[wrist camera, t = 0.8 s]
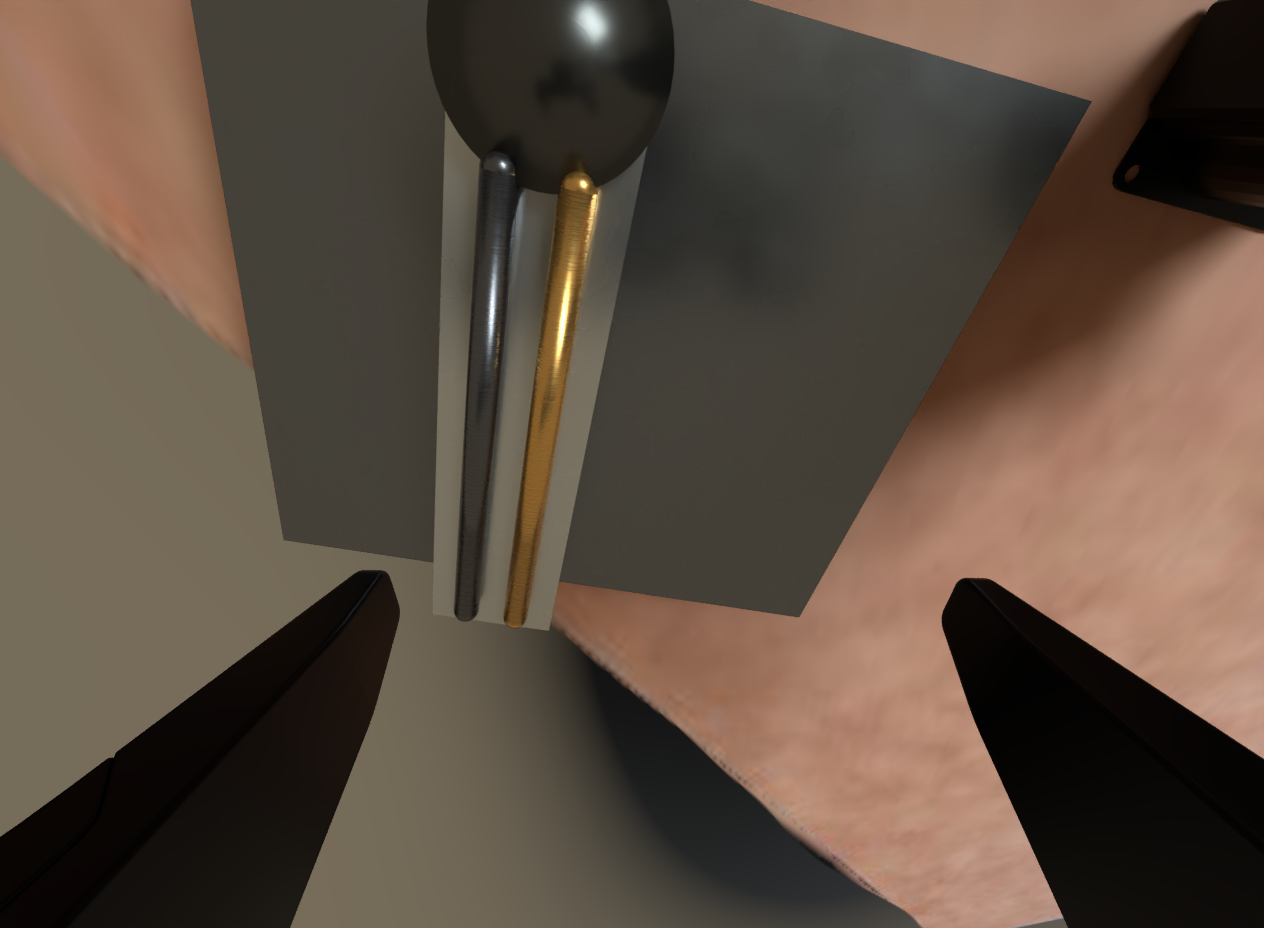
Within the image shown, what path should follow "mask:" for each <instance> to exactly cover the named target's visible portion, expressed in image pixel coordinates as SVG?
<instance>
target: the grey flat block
mask: <svg viewBox="0 0 1264 928" xmlns="http://www.w3.org/2000/svg"><path fill="white" fill-rule="evenodd" d="M667 1H668V4H669V8H670V12H671V18H672V25H673V31H674V48H675V56H674V73H673V79H672V86H671V91H670V95H669V99H668V103H667V106H666V109H665V112H664V115H663V117H662V120H661V122H660V125H659V127H658V129H657V130H656V132H655V134H654V136H653V138H652V140H651V141H650V143H649V144H648V146H647V149H646V154H645V159H644V163H643V168H642V173H641V178H640V183H639V188H638V193H637V198H636V203H635V208H634V213H633V218H632V223H631V228H630V233H629V238H628V242H627V247H626V252H625V257H624V262H623V267H622V272H621V277H620V282H619V287H618V292H617V297H616V302H615V307H614V312H613V317H612V322H611V326H610V331H609V336H608V341H607V346H606V351H605V356H604V361H603V366H602V371H601V376H600V381H599V386H598V391H597V396H596V401H595V405H594V410H593V415H592V420H591V425H590V430H589V435H588V440H587V445H586V450H585V455H584V460H583V465H582V470H581V475H580V480H579V484H578V489H577V494H576V499H575V504H574V509H573V514H572V519H571V524H570V529H569V534H568V539H567V544H566V549H565V554H564V559H563V564H562V568H561V573H560V578H559V581H561V582H567V583H574V584H581V585H587V586H594V587H601V588H607V589H614V590H621V591H627V592H634V593H640V594H647V595H654V596H660V597H667V598H674V599H680V600H687V601H694V602H700V603H707V604H714V605H720V606H727V607H734V608H740V609H747V610H754V611H760V612H767V613H774V614H780V615H787V616H794V617H800V615H801V613H802V611H803V610H804V608H805V606H806V604H807V602H808V601H809V599H810V597H811V595H812V594H813V592H814V590H815V588H816V587H817V585H818V583H819V581H820V580H821V578H822V576H823V574H824V572H825V571H826V569H827V567H828V565H829V564H830V562H831V560H832V558H833V557H834V555H835V553H836V551H837V550H838V548H839V546H840V544H841V543H842V541H843V539H844V537H845V535H846V534H847V532H848V530H849V528H850V527H851V525H852V523H853V521H854V520H855V518H856V516H857V514H858V513H859V511H860V509H861V507H862V505H863V504H864V502H865V500H866V498H867V497H868V495H869V493H870V491H871V490H872V488H873V486H874V484H875V483H876V481H877V479H878V477H879V476H880V474H881V472H882V470H883V468H884V467H885V465H886V463H887V461H888V460H889V458H890V456H891V454H892V453H893V451H894V449H895V447H896V446H897V444H898V442H899V440H900V438H901V437H902V435H903V433H904V431H905V430H906V428H907V426H908V424H909V423H910V421H911V419H912V417H913V416H914V414H915V412H916V410H917V409H918V407H919V405H920V403H921V401H922V400H923V398H924V396H925V394H926V393H927V391H928V389H929V387H930V386H931V384H932V382H933V380H934V379H935V377H936V375H937V373H938V371H939V370H940V368H941V366H942V364H943V363H944V361H945V359H946V357H947V356H948V354H949V352H950V350H951V349H952V347H953V345H954V343H955V342H956V340H957V338H958V336H959V334H960V333H961V331H962V329H963V327H964V326H965V324H966V322H967V320H968V319H969V317H970V315H971V313H972V312H973V310H974V308H975V306H976V304H977V303H978V301H979V299H980V297H981V296H982V294H983V292H984V290H985V289H986V287H987V285H988V283H989V282H990V280H991V278H992V276H993V275H994V273H995V271H996V269H997V267H998V266H999V264H1000V262H1001V260H1002V259H1003V257H1004V255H1005V253H1006V252H1007V250H1008V248H1009V246H1010V245H1011V243H1012V241H1013V239H1014V237H1015V236H1016V234H1017V232H1018V230H1019V229H1020V227H1021V225H1022V223H1023V222H1024V220H1025V218H1026V216H1027V215H1028V213H1029V211H1030V209H1031V208H1032V206H1033V204H1034V202H1035V200H1036V199H1037V197H1038V195H1039V193H1040V192H1041V190H1042V188H1043V186H1044V185H1045V183H1046V181H1047V179H1048V178H1049V176H1050V174H1051V172H1052V170H1053V169H1054V167H1055V165H1056V163H1057V162H1058V160H1059V158H1060V156H1061V155H1062V153H1063V151H1064V149H1065V148H1066V146H1067V144H1068V142H1069V141H1070V139H1071V137H1072V135H1073V133H1074V132H1075V130H1076V128H1077V126H1078V125H1079V123H1080V121H1081V119H1082V118H1083V116H1084V114H1085V112H1086V111H1087V109H1088V107H1089V105H1090V103H1091V102H1092V101H1089V100H1085V99H1082V98H1078V97H1075V96H1072V95H1068V94H1065V93H1061V92H1058V91H1055V90H1051V89H1048V88H1044V87H1041V86H1038V85H1034V84H1031V83H1027V82H1024V81H1021V80H1017V79H1014V78H1011V77H1007V76H1004V75H1000V74H997V73H994V72H990V71H987V70H983V69H980V68H977V67H973V66H970V65H966V64H963V63H960V62H956V61H953V60H949V59H946V58H943V57H939V56H936V55H932V54H929V53H926V52H922V51H919V50H915V49H912V48H909V47H905V46H902V45H898V44H895V43H892V42H888V41H885V40H882V39H878V38H875V37H871V36H868V35H865V34H861V33H858V32H854V31H851V30H848V29H844V28H841V27H837V26H834V25H831V24H827V23H824V22H820V21H817V20H814V19H810V18H807V17H803V16H800V15H797V14H793V13H790V12H786V11H783V10H780V9H776V8H773V7H769V6H766V5H763V4H759V3H756V2H753V1H749V0H667ZM191 5H192V11H193V17H194V23H195V28H196V34H197V40H198V46H199V52H200V57H201V63H202V69H203V75H204V81H205V86H206V92H207V98H208V104H209V110H210V115H211V121H212V127H213V133H214V139H215V144H216V150H217V156H218V162H219V168H220V173H221V179H222V185H223V191H224V197H225V202H226V208H227V214H228V220H229V226H230V231H231V237H232V243H233V249H234V254H235V260H236V266H237V272H238V278H239V283H240V289H241V295H242V301H243V307H244V312H245V318H246V324H247V330H248V336H249V341H250V347H251V353H252V359H253V365H254V370H255V376H256V382H257V388H258V394H259V399H260V405H261V410H262V417H263V423H264V428H265V434H266V440H267V446H268V452H269V457H270V463H271V469H272V475H273V480H274V486H275V492H276V498H277V504H278V509H279V515H280V521H281V527H282V533H283V538H284V540H288V541H294V542H301V543H309V544H314V545H322V546H328V547H334V548H341V549H348V550H355V551H361V552H368V553H374V554H381V555H387V556H394V557H401V558H408V559H414V560H421V561H427V562H434V525H435V487H436V449H437V411H438V373H439V335H440V297H441V259H442V221H443V183H444V145H445V109H444V107H443V105H442V103H441V100H440V97H439V94H438V92H437V89H436V86H435V83H434V79H433V75H432V71H431V67H430V61H429V55H428V48H427V31H426V21H427V5H428V0H191Z"/></svg>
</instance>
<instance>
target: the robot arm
mask: <svg viewBox="0 0 1264 928" xmlns="http://www.w3.org/2000/svg"><path fill="white" fill-rule="evenodd" d="M1148 116H1149V118H1148V119H1147V121H1146V122H1145V124H1144V126H1143V127H1142V129H1141V130H1140V132H1139V134H1138V135H1137V137H1136V138H1135V140H1134V142H1133V143H1132V145H1131V147H1130V148H1129V150H1128V151H1127V153H1126V155H1125V156H1124V158H1123V159H1122V161H1121V163H1120V164H1119V166H1118V167H1117V169H1116V171H1115V173H1114V175H1113V181H1112V184H1113V186H1114V188H1115V189H1117V190H1118V191H1121V192H1125V193H1129V194H1132V195H1136V196H1140V197H1143V198H1147V199H1150V200H1154V201H1158V202H1161V203H1165V204H1169V205H1172V206H1176V207H1180V208H1183V209H1187V210H1191V211H1194V212H1198V213H1202V214H1205V215H1209V216H1213V217H1216V218H1220V219H1224V220H1227V221H1231V222H1235V223H1238V224H1242V225H1246V226H1249V227H1253V228H1257V229H1260V230H1264V0H1218V1H1217V2H1215V3H1214V4H1213V5H1212V6H1211V7H1210V8H1209V10H1208V11H1207V13H1206V15H1205V16H1204V18H1203V19H1202V21H1201V23H1200V24H1199V26H1198V28H1197V29H1196V31H1195V32H1194V34H1193V36H1192V37H1191V39H1190V41H1189V42H1188V44H1187V45H1186V47H1185V49H1184V50H1183V52H1182V53H1181V55H1180V57H1179V58H1178V60H1177V62H1176V63H1175V65H1174V66H1173V68H1172V70H1171V71H1170V73H1169V75H1168V76H1167V78H1166V79H1165V81H1164V83H1163V84H1162V86H1161V87H1160V89H1159V91H1158V92H1157V94H1156V96H1155V97H1154V99H1153V100H1152V102H1151V104H1150V106H1149V110H1148ZM1134 165H1137V166H1138V167H1139V172H1138V174H1137V176H1136V177H1135V178H1134V179H1133V180H1132V181H1130V182H1126V181H1125V174H1126V172H1127V171H1128V170H1129V169H1130V168H1131V167H1132V166H1134ZM399 616H400V608H399V604H398V600H397V597H396V594H395V591H394V588H393V585H392V582H391V579H390V576H389V574H387V572H385V571H381V570H362V571H358V572H357V573H355V574H353V575H352V576H351V577H349V578H348V579H347V580H345V581H344V582H343V583H341V584H340V585H339V586H338V587H336V588H335V589H333V590H332V591H331V592H329V593H328V594H327V595H326V596H324V597H323V598H321V599H320V600H319V601H317V602H316V603H315V604H314V605H312V606H311V607H309V608H308V609H307V610H305V611H304V612H303V613H301V614H300V615H299V616H297V617H296V618H295V619H293V620H292V621H291V622H289V623H288V624H287V625H285V626H284V627H283V628H281V629H280V630H279V631H278V632H276V633H275V634H273V635H272V636H271V637H269V638H268V639H267V640H265V641H264V642H263V643H261V644H260V645H259V646H257V647H256V648H255V649H253V650H252V651H251V652H249V653H248V654H247V655H245V656H244V657H243V658H241V659H240V660H239V661H237V662H236V663H235V664H233V665H232V666H231V667H229V668H228V669H227V670H225V671H224V672H223V673H221V674H220V675H219V676H217V677H216V678H215V679H214V680H212V681H211V682H209V683H208V684H207V685H205V686H204V687H203V688H201V689H200V690H199V691H197V692H196V693H195V694H193V695H192V696H191V697H189V698H188V699H187V700H185V701H184V702H183V703H181V704H180V705H179V706H178V707H176V708H175V709H173V710H172V711H171V712H169V713H168V714H167V715H165V716H164V717H163V718H161V719H160V720H159V721H157V722H156V723H155V724H153V725H152V726H151V727H149V728H148V729H147V730H145V731H144V732H143V733H141V734H140V735H139V736H137V737H136V738H135V739H133V740H132V741H131V742H129V743H128V744H127V745H125V746H124V747H123V748H121V749H120V750H119V751H117V752H116V754H115V756H114V758H108V759H106V760H105V761H104V762H102V763H101V764H100V765H98V766H97V767H96V768H94V769H93V770H92V771H90V772H89V773H88V774H86V775H85V776H84V777H82V778H81V779H80V780H79V781H77V782H76V783H74V784H73V785H72V786H70V787H69V788H67V789H66V790H65V791H63V792H62V793H61V794H59V795H58V796H56V797H55V798H54V799H52V800H51V801H50V802H48V803H47V804H45V805H44V806H43V807H41V808H40V809H39V810H37V811H36V812H35V813H33V814H32V815H31V816H29V817H28V818H26V819H25V820H24V821H22V822H21V823H19V824H18V825H17V826H15V827H14V828H12V829H11V830H9V831H8V832H6V833H5V834H4V835H2V836H1V837H0V928H290V926H291V924H292V921H293V919H294V916H295V914H296V911H297V908H298V905H299V903H300V901H301V898H302V896H303V893H304V890H305V888H306V886H307V883H308V880H309V878H310V875H311V873H312V870H313V868H314V865H315V863H316V860H317V857H318V855H319V852H320V850H321V847H322V844H323V842H324V840H325V837H326V834H327V832H328V829H329V826H330V824H331V822H332V819H333V816H334V814H335V811H336V809H337V806H338V804H339V801H340V799H341V796H342V793H343V791H344V788H345V786H346V783H347V781H348V778H349V776H350V773H351V770H352V768H353V765H354V763H355V760H356V758H357V755H358V753H359V750H360V747H361V745H362V742H363V740H364V737H365V735H366V732H367V730H368V727H369V724H370V721H371V718H372V716H373V713H374V710H375V706H376V703H377V700H378V696H379V692H380V689H381V685H382V681H383V678H384V674H385V670H386V667H387V663H388V659H389V656H390V652H391V648H392V644H393V640H394V637H395V633H396V630H397V626H398V622H399ZM942 627H943V631H944V634H945V637H946V640H947V643H948V646H949V649H950V651H951V654H952V657H953V660H954V663H955V666H956V669H957V672H958V675H959V678H960V681H961V684H962V687H963V690H964V693H965V696H966V699H967V702H968V705H969V708H970V710H971V713H972V716H973V718H974V721H975V723H976V726H977V728H978V730H979V733H980V735H981V737H982V739H983V742H984V744H985V746H986V748H987V750H988V753H989V755H990V757H991V759H992V761H993V764H994V766H995V768H996V770H997V772H998V775H999V777H1000V779H1001V781H1002V783H1003V786H1004V788H1005V790H1006V792H1007V794H1008V797H1009V799H1010V801H1011V803H1012V805H1013V808H1014V810H1015V812H1016V814H1017V816H1018V819H1019V821H1020V823H1021V825H1022V827H1023V830H1024V832H1025V834H1026V836H1027V838H1028V841H1029V843H1030V845H1031V847H1032V849H1033V852H1034V854H1035V856H1036V858H1037V860H1038V863H1039V865H1040V867H1041V869H1042V871H1043V874H1044V876H1045V878H1046V880H1047V882H1048V885H1049V887H1050V889H1051V891H1052V893H1053V896H1054V898H1055V900H1056V902H1057V904H1058V907H1059V909H1060V911H1061V913H1062V915H1063V918H1064V920H1065V922H1066V924H1067V926H1068V928H1264V759H1263V758H1262V757H1260V756H1258V755H1257V754H1255V753H1254V752H1252V751H1251V750H1249V749H1248V748H1246V747H1245V746H1243V745H1242V744H1240V743H1239V742H1237V741H1236V740H1234V739H1233V738H1231V737H1230V736H1228V735H1227V734H1225V733H1224V732H1222V731H1221V730H1219V729H1217V728H1216V727H1214V726H1213V725H1211V724H1210V723H1208V722H1207V721H1205V720H1204V719H1202V718H1201V717H1199V716H1198V715H1196V714H1195V713H1193V712H1192V711H1190V710H1189V709H1187V708H1186V707H1184V706H1183V705H1181V704H1179V703H1178V702H1176V701H1175V700H1173V699H1172V698H1170V697H1169V696H1167V695H1166V694H1164V693H1163V692H1161V691H1160V690H1158V689H1157V688H1155V687H1154V686H1152V685H1151V684H1149V683H1148V682H1146V681H1145V680H1143V679H1141V678H1140V677H1138V676H1137V675H1135V674H1134V673H1132V672H1131V671H1129V670H1128V669H1126V668H1125V667H1123V666H1122V665H1120V664H1119V663H1117V662H1116V661H1114V660H1113V659H1111V658H1110V657H1108V656H1107V655H1105V654H1104V653H1102V652H1100V651H1099V650H1097V649H1096V648H1094V647H1093V646H1091V645H1090V644H1088V643H1087V642H1085V641H1084V640H1082V639H1081V638H1079V637H1078V636H1076V635H1075V634H1073V633H1072V632H1070V631H1069V630H1067V629H1066V628H1064V627H1062V626H1061V625H1059V624H1058V623H1056V622H1055V621H1053V620H1052V619H1050V618H1049V617H1047V616H1046V615H1044V614H1043V613H1041V612H1040V611H1038V610H1037V609H1035V608H1034V607H1032V606H1031V605H1029V604H1028V603H1026V602H1025V601H1023V600H1021V599H1020V598H1018V597H1017V596H1015V595H1014V594H1012V593H1011V592H1009V591H1008V590H1006V589H1005V588H1003V587H1002V586H1000V585H999V584H997V583H996V582H994V581H992V580H990V579H986V578H963V579H961V580H959V581H958V582H957V584H956V585H955V587H954V589H953V592H952V594H951V596H950V598H949V600H948V602H947V604H946V606H945V608H944V610H943V613H942Z"/></svg>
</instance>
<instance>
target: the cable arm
mask: <svg viewBox="0 0 1264 928" xmlns="http://www.w3.org/2000/svg"><path fill="white" fill-rule="evenodd" d="M426 31H427V48H428V55H429V61H430V67H431V71H432V75H433V79H434V83H435V86H436V89H437V92H438V94H439V97H440V100H441V103H442V105H443V107H444V109H445V145H444V183H443V221H442V259H441V297H440V335H439V373H438V411H437V449H436V487H435V525H434V563H433V566H434V567H433V601H432V602H433V603H432V604H433V605H432V615H439V616H446V617H453V618H457V619H459V620H460V621H470V620H475V621H482V622H490V623H497V624H504V625H507V626H508V627H511V628H519V627H526V628H533V629H540V630H547V631H549V628H550V623H551V618H552V613H553V608H554V603H555V598H556V593H557V588H558V583H559V578H560V573H561V568H562V564H563V559H564V554H565V549H566V544H567V539H568V534H569V529H570V524H571V519H572V514H573V509H574V504H575V499H576V494H577V489H578V484H579V480H580V475H581V470H582V465H583V460H584V455H585V450H586V445H587V440H588V435H589V430H590V425H591V420H592V415H593V410H594V405H595V401H596V396H597V391H598V386H599V381H600V376H601V371H602V366H603V361H604V356H605V351H606V346H607V341H608V336H609V331H610V326H611V322H612V317H613V312H614V307H615V302H616V297H617V292H618V287H619V282H620V277H621V272H622V267H623V262H624V257H625V252H626V247H627V242H628V238H629V233H630V228H631V223H632V218H633V213H634V208H635V203H636V198H637V193H638V188H639V183H640V178H641V173H642V168H643V163H644V159H645V154H646V149H647V146H648V144H649V143H650V141H651V140H652V138H653V136H654V134H655V132H656V130H657V129H658V127H659V125H660V122H661V120H662V117H663V115H664V112H665V109H666V106H667V103H668V99H669V95H670V91H671V86H672V79H673V73H674V56H675V48H674V31H673V25H672V18H671V12H670V8H669V4H668V1H667V0H428V5H427V21H426Z"/></svg>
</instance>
